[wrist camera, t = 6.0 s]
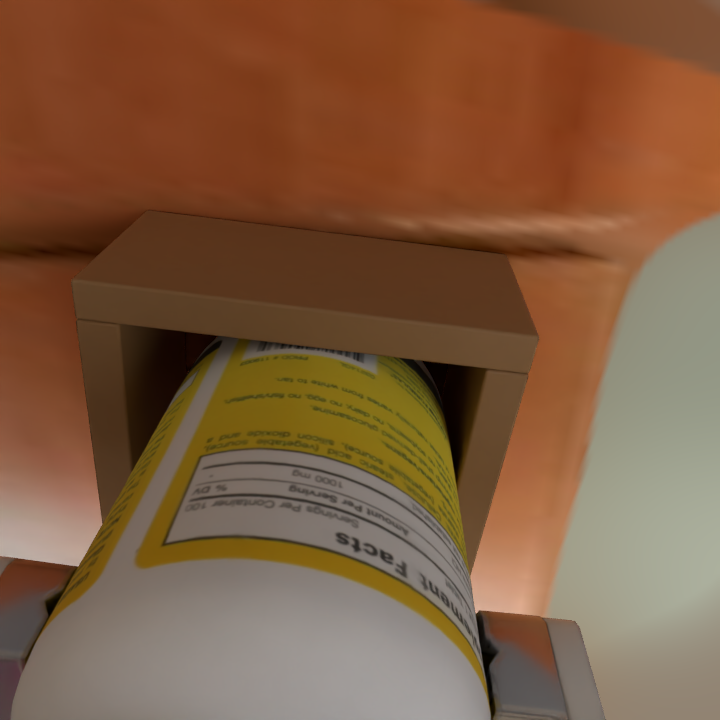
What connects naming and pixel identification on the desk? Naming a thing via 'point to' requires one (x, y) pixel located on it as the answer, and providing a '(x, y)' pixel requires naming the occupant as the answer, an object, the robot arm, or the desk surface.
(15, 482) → the desk surface
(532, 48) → the desk surface
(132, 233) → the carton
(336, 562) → the pill bottle
